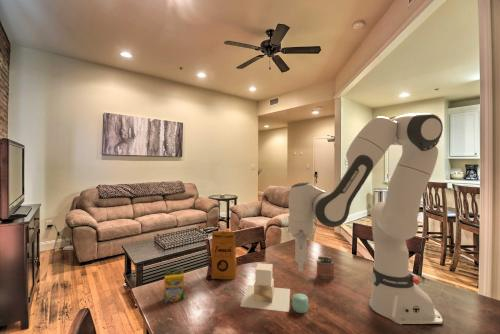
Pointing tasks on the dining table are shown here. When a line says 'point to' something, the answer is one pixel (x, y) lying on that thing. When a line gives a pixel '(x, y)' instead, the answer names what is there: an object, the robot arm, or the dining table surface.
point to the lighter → (325, 268)
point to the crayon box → (174, 285)
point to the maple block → (264, 292)
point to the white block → (264, 274)
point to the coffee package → (223, 255)
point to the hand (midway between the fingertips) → (300, 264)
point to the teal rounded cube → (300, 303)
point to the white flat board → (278, 304)
